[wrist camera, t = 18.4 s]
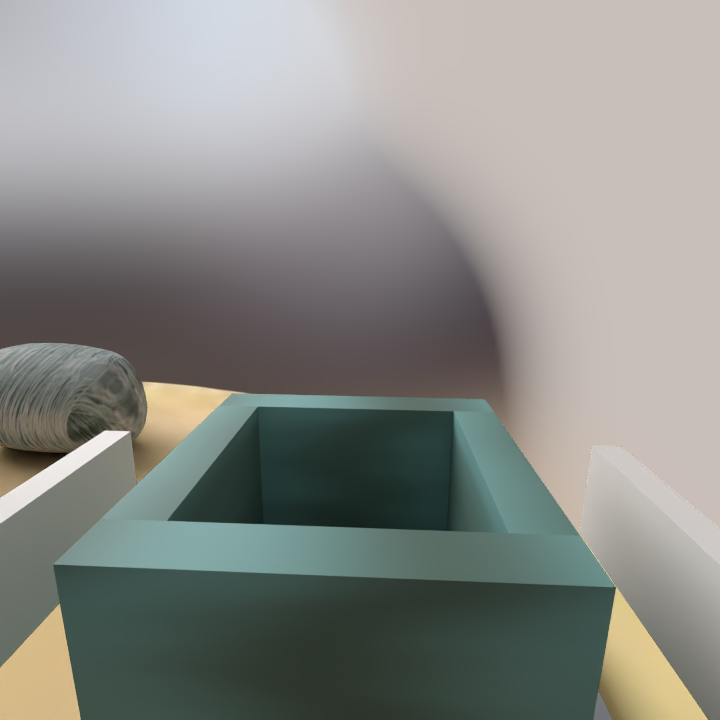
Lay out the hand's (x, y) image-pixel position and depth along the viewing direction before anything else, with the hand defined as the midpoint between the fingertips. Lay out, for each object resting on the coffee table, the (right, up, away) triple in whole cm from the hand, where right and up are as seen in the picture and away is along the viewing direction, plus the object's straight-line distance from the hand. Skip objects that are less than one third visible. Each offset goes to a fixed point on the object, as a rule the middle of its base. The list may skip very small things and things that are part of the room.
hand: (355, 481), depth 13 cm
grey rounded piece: (-24, -4, +24) cm, 34 cm away
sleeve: (0, -8, -1) cm, 8 cm away
